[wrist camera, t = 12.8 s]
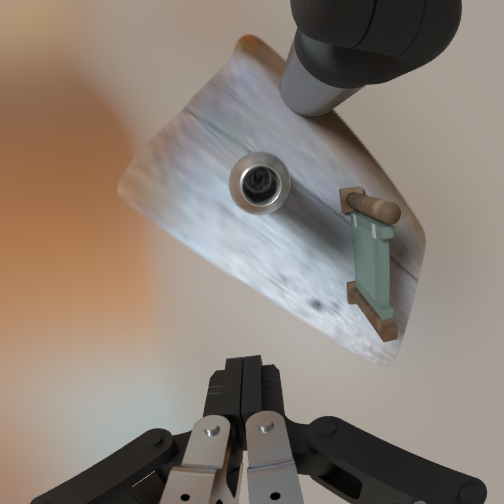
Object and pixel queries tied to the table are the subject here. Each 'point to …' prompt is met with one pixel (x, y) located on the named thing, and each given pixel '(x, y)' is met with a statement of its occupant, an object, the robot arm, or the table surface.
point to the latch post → (372, 314)
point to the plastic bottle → (259, 183)
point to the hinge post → (368, 205)
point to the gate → (372, 261)
